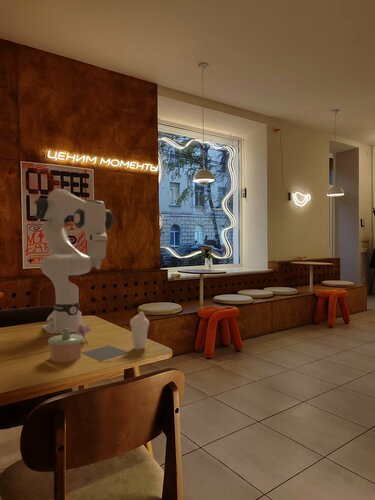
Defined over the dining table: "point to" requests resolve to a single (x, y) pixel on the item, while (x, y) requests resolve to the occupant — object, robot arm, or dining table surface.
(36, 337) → the dining table surface
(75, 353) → the bowl
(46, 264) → the robot arm
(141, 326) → the soft serve ice cream cone
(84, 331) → the lily
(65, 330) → the lid
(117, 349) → the mat
